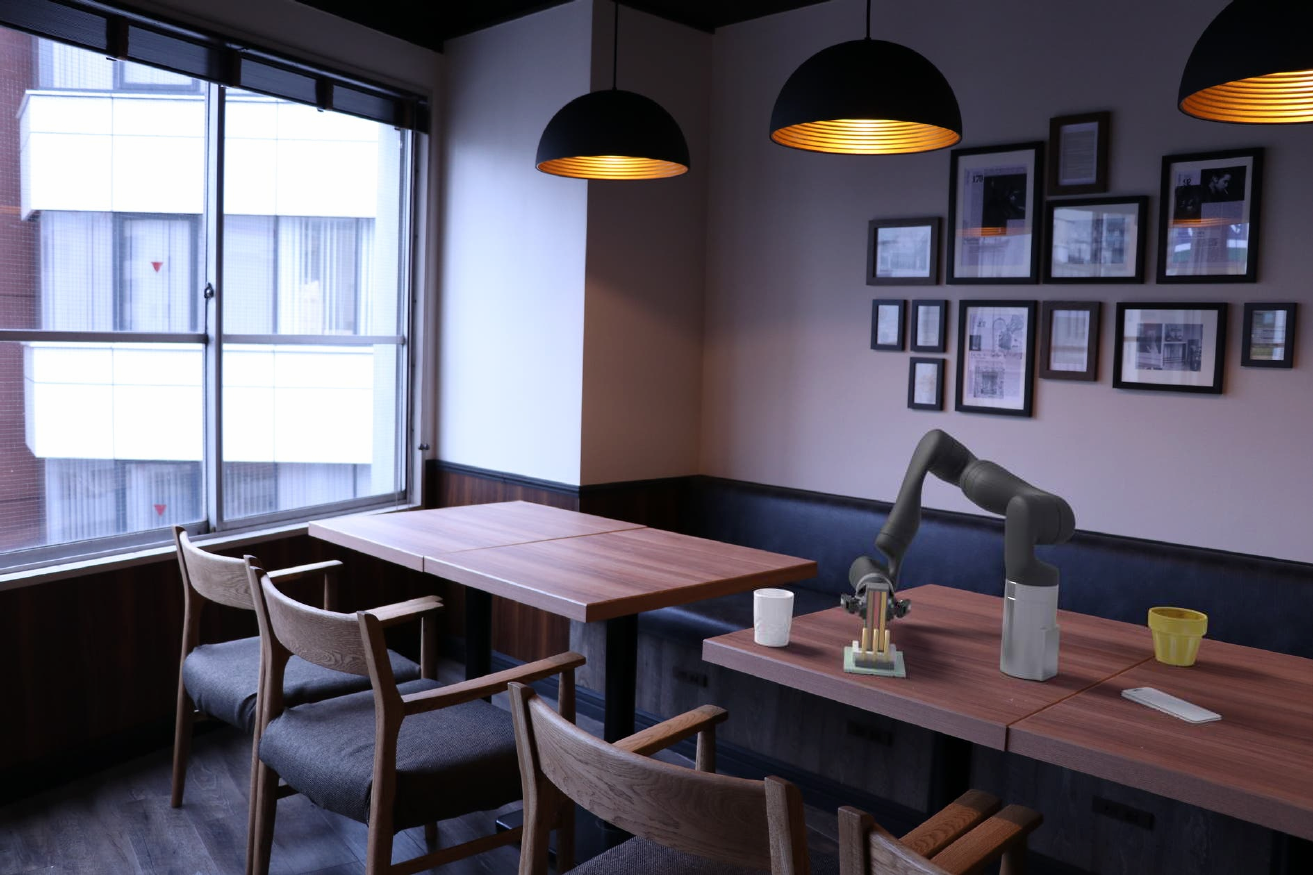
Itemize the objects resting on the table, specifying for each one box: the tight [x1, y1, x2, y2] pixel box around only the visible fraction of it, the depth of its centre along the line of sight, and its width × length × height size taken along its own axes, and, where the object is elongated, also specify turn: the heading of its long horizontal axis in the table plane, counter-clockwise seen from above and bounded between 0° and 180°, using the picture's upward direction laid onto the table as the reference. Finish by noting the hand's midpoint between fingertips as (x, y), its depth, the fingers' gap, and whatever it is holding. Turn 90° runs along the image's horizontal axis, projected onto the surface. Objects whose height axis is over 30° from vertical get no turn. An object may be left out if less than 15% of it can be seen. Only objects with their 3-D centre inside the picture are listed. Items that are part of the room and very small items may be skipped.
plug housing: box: [863, 582, 889, 653], centre depth 196 cm, size 5×4×12 cm
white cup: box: [753, 588, 795, 648], centre depth 206 cm, size 8×8×10 cm
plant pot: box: [1147, 606, 1209, 667], centre depth 204 cm, size 10×10×10 cm
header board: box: [843, 627, 907, 679], centre depth 195 cm, size 15×11×8 cm
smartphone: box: [1121, 686, 1223, 724], centre depth 176 cm, size 7×1×15 cm
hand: (876, 615), depth 193 cm, fingers closed on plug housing, 4 cm apart
